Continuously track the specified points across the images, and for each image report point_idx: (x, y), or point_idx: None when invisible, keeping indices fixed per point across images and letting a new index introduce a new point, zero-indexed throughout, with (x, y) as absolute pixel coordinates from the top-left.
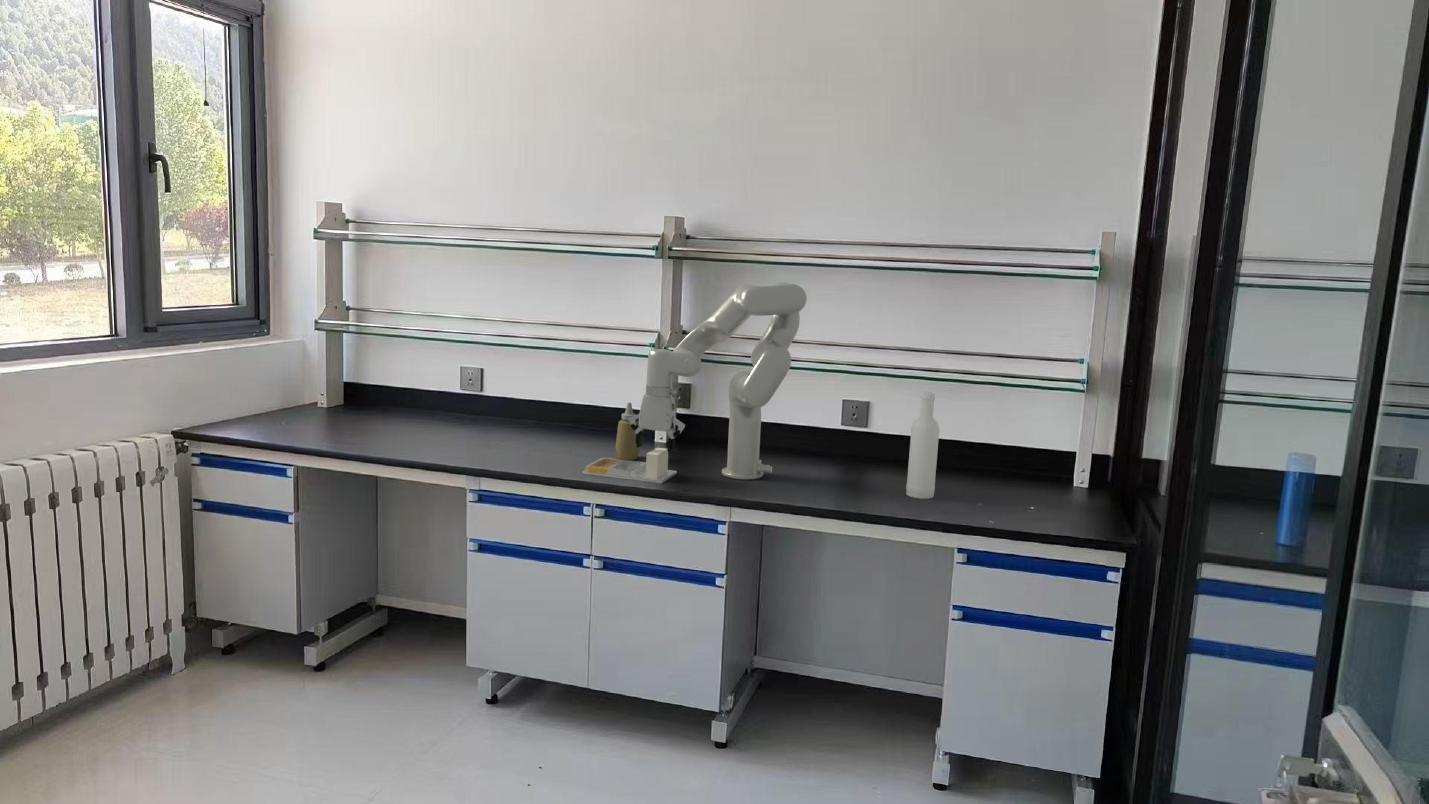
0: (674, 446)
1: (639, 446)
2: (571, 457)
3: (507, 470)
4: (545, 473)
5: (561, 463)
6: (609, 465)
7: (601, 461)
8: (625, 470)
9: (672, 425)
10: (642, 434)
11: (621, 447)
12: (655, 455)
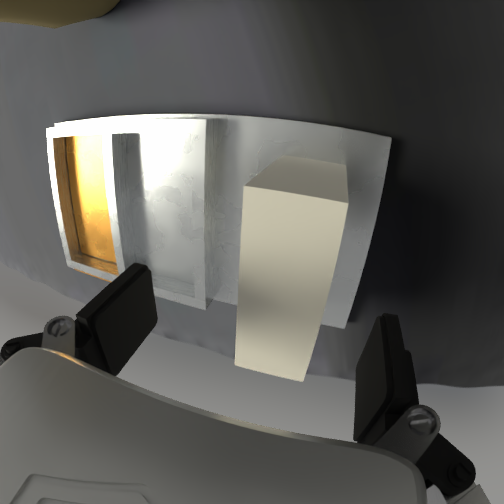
0: (410, 357)
1: (154, 316)
2: (5, 94)
3: (4, 260)
4: (38, 268)
5: (11, 165)
6: (89, 165)
7: (59, 160)
8: (181, 298)
9: (398, 491)
10: (101, 329)
11: (52, 26)
12: (289, 375)
